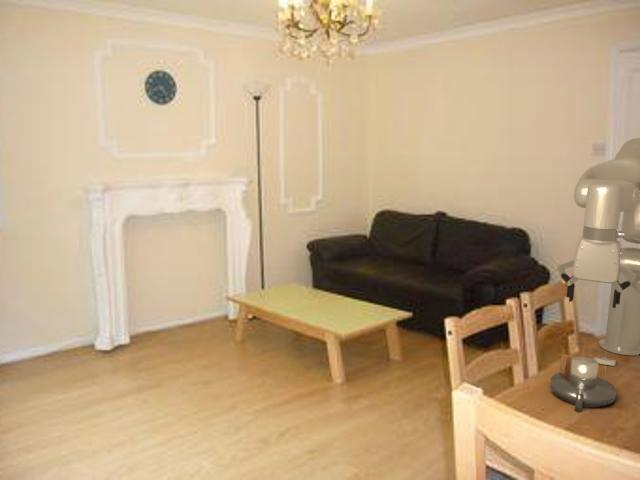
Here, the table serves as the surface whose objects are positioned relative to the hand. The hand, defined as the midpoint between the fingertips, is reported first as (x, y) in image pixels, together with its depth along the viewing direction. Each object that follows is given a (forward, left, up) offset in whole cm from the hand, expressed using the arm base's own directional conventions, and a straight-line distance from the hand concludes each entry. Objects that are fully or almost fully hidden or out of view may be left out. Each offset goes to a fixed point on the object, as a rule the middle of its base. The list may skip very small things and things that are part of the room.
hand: (592, 303), depth 143 cm
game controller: (-24, +4, -25) cm, 35 cm away
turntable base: (0, 0, -24) cm, 24 cm away
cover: (0, 0, -21) cm, 21 cm away
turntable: (0, 0, -23) cm, 23 cm away
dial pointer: (+9, 0, -24) cm, 26 cm away
